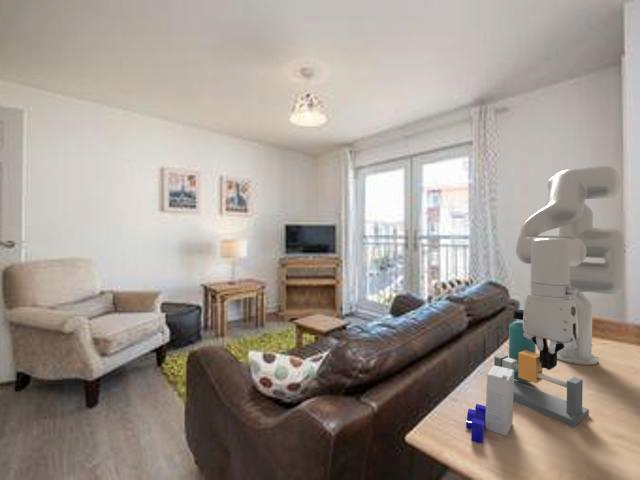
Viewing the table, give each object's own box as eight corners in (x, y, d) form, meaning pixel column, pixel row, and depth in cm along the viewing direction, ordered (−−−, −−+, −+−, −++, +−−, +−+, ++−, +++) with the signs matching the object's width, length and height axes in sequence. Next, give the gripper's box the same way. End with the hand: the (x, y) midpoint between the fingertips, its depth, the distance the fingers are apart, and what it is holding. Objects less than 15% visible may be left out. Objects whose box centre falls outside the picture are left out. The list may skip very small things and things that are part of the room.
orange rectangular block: (524, 374, 83) (525, 350, 83) (542, 380, 80) (542, 355, 79) (518, 377, 81) (518, 352, 81) (535, 383, 78) (536, 358, 78)
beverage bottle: (540, 389, 86) (541, 314, 85) (512, 387, 87) (513, 313, 87) (529, 378, 92) (530, 308, 92) (504, 376, 94) (505, 307, 93)
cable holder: (468, 419, 73) (468, 401, 73) (486, 424, 71) (486, 406, 71) (463, 438, 66) (463, 419, 66) (482, 444, 64) (482, 425, 64)
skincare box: (491, 416, 74) (492, 363, 73) (514, 424, 71) (514, 369, 70) (484, 429, 69) (485, 373, 69) (508, 438, 66) (509, 379, 66)
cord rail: (504, 382, 90) (504, 351, 90) (588, 415, 74) (589, 378, 74) (487, 390, 86) (487, 357, 85) (573, 427, 70) (574, 387, 69)
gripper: (595, 293, 72) (593, 375, 73) (523, 284, 85) (522, 354, 85) (581, 297, 68) (579, 384, 69) (508, 287, 81) (507, 360, 81)
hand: (548, 367), depth 77 cm, fingers closed
